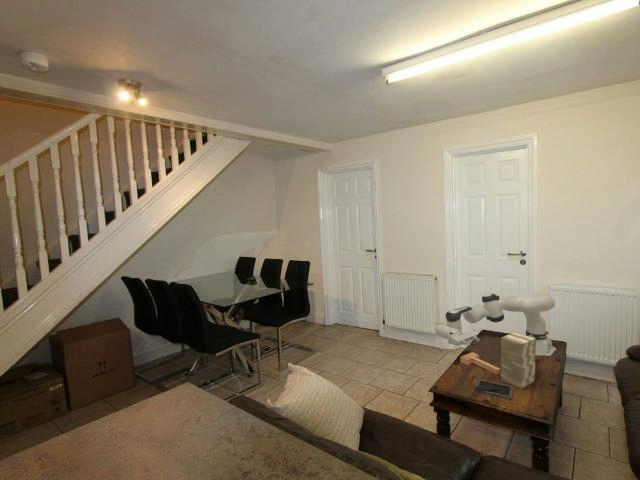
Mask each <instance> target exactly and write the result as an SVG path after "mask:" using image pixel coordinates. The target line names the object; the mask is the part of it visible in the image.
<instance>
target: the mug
mask: <svg viewBox="0 0 640 480" xmlns="http://www.w3.org/2000/svg"><path fill="white" fill-rule="evenodd" d="M539 364H540V359H539V358H538V357H535V379H536V378H538V374H539Z"/></svg>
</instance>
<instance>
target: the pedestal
mask: <svg viewBox="0 0 640 480" xmlns="http://www.w3.org/2000/svg"><path fill="white" fill-rule="evenodd" d="M535 350H536V338H533V337H530V336H526V334H524V333H520V332H516V331H515V332H512V333H510V334H509V333H508V334H507V335H504V336H501V339H500V381H502V382H505V383H507V384H508V385H510V386H513V387H516V388H518V389H521V390H522V389H524V388H526V387H528V386H529V385H531V384H532V383H534V382H536V381H535V380H536V378H535V358H536V355H535Z"/></svg>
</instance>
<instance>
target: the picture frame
mask: <svg viewBox="0 0 640 480" xmlns="http://www.w3.org/2000/svg"><path fill="white" fill-rule="evenodd" d="M513 391H514V386H513V385H511V384H505V383H501V382H500V383H499V382H496V381H490V380H486V379H482V378H478V379H477V383H476V385H475V387H474V392H476V393H481V394H485V395H489V396H493V397H498V398H502V399H506V400H510V401H511V400H512V399H513Z"/></svg>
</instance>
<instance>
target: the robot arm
mask: <svg viewBox="0 0 640 480" xmlns="http://www.w3.org/2000/svg"><path fill="white" fill-rule="evenodd" d="M481 301H482V304H483V305H482V304H476V305H474V306H472V307H471V306H466V305H465V306H461V307H459V308H456V309H451V310H450V309H449V310H448V311H447V312H446V313H445V319H446V324H443V323H442V324H439V323H438V324H437V325H436V327H435V333H436V334H437V336H439V337H441V338H442V339H445V340H447V343H448V344H451V345H454V346H457V347H460V346H462V345H464V346H465V345H466V346H471V345H472V344H471V342H472V341H475V342H477V343H479V342H480V338H478V334H477V333H476V332H472V331H464V332H463V326H462V316H463V318H464V320H465V321H466V322H468V323H470V324H476V323H478V322H480V321H481V320H482V319H484V318H485V319H486V320H487V321H490V322H492V323H500V322H502V321H504V320H505V314H504V312H503V310H504V311H507V312H516V313H517V312H520V313H521V312H522V313H523V314H524V316H525V319H526V320H525V321H526V329H525V335H526V336H530V337H533V338H536V350H535V356H545V357H551V356H552V355H553V354H554V353H555V351H557V348H556V347H555V346H554V345H553V341H552V340H551V339H550V338H549V337H548V335H549V331H548V330H546V325H547V323H546V320H545V319H544V318H542V316H541V312H547V311H549V310H552V309H554V308H555V306H556V301H555V299H554V298H553V297H552V296H551V295H549V294H533V295H531V294H530V295H515V296H512V295H511V296H505V297H502V298H500V295H497V294H495V293H492V292H491V293H485V294H484V295H483V296H482V297H481Z"/></svg>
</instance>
